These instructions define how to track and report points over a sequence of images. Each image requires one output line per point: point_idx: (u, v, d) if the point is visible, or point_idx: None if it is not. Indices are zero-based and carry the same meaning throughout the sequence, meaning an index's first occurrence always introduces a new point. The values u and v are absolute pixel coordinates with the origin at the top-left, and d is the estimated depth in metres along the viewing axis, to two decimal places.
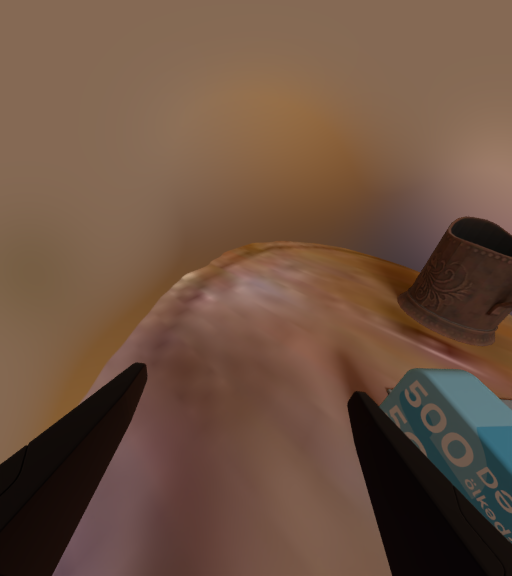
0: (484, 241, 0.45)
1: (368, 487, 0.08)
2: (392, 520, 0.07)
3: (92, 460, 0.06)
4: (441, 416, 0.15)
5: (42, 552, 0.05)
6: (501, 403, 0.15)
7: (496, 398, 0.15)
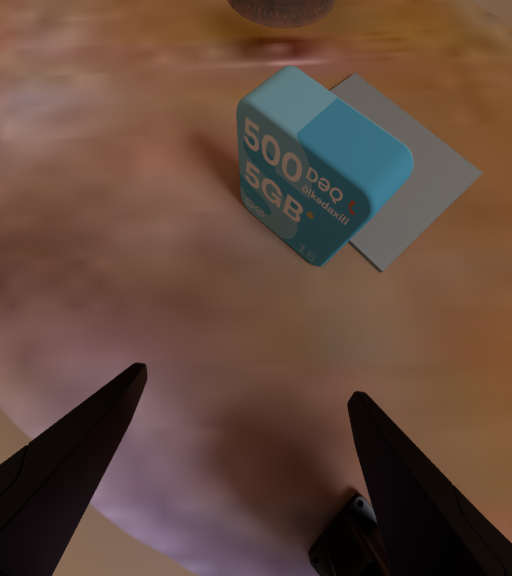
0: None
1: (368, 487, 0.08)
2: (392, 520, 0.07)
3: (92, 460, 0.06)
4: (274, 143, 0.14)
5: (42, 552, 0.05)
6: (318, 86, 0.14)
7: (313, 83, 0.14)
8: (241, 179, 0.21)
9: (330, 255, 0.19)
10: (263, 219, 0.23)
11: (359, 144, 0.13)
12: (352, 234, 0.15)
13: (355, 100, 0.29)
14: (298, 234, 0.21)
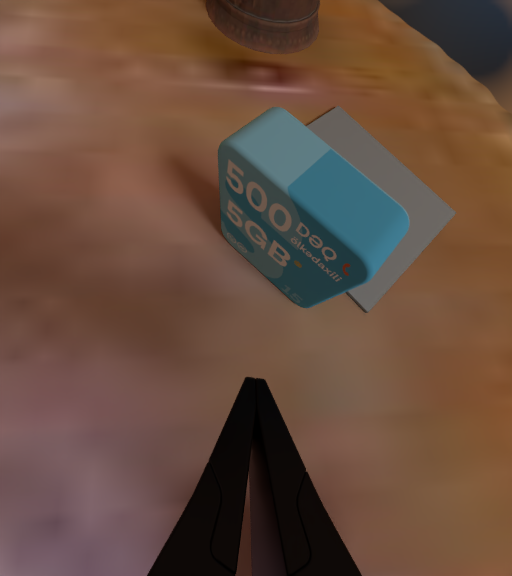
0: None
1: (249, 476, 0.07)
2: (255, 510, 0.06)
3: None
4: (261, 191, 0.13)
5: None
6: (309, 134, 0.12)
7: (305, 130, 0.12)
8: (222, 214, 0.19)
9: (317, 302, 0.18)
10: (246, 254, 0.22)
11: (355, 204, 0.11)
12: (344, 291, 0.14)
13: (339, 133, 0.29)
14: (283, 277, 0.19)
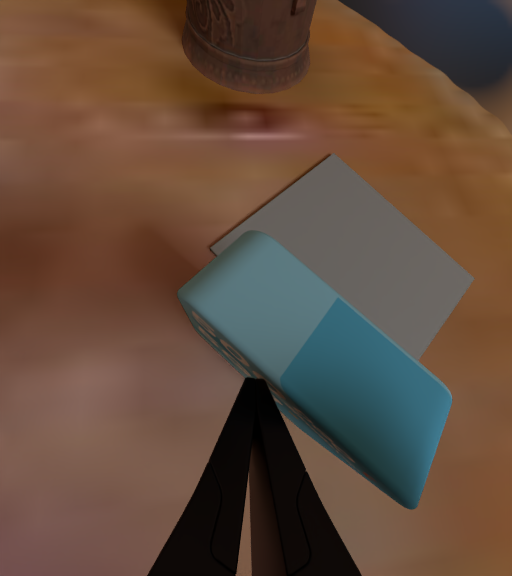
0: None
1: (249, 476, 0.07)
2: (255, 510, 0.06)
3: None
4: (240, 356, 0.09)
5: None
6: (308, 276, 0.09)
7: (301, 270, 0.09)
8: (194, 325, 0.14)
9: (319, 443, 0.14)
10: None
11: (380, 393, 0.08)
12: (360, 474, 0.10)
13: (335, 187, 0.25)
14: None
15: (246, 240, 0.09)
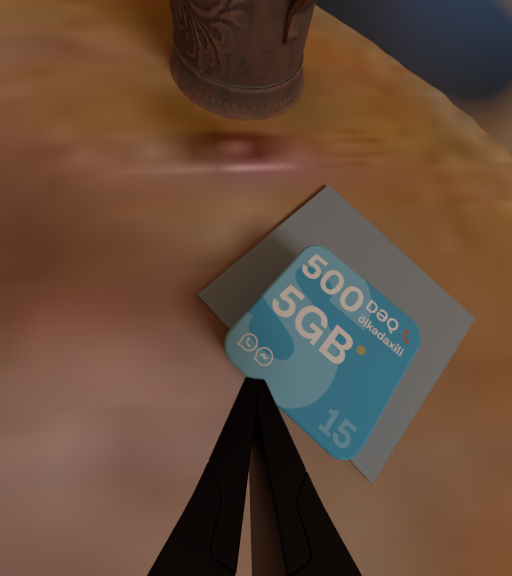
0: None
1: (249, 477, 0.07)
2: (255, 510, 0.06)
3: None
4: (340, 277, 0.17)
5: None
6: None
7: None
8: (261, 303, 0.16)
9: (379, 415, 0.15)
10: (263, 371, 0.14)
11: None
12: (406, 368, 0.16)
13: (330, 222, 0.24)
14: (332, 388, 0.15)
15: None
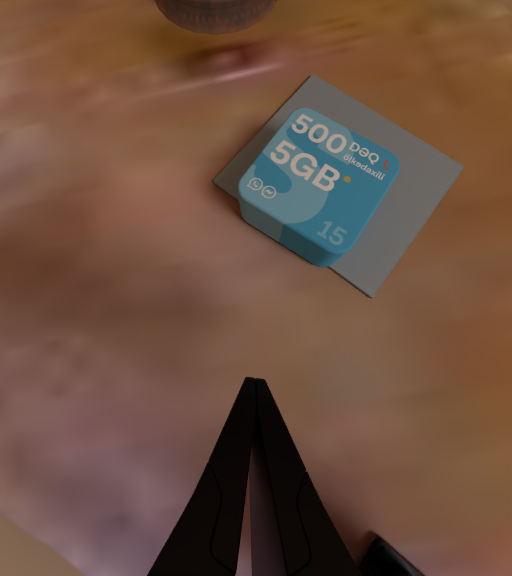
0: None
1: (249, 476, 0.07)
2: (255, 510, 0.06)
3: None
4: (324, 129, 0.20)
5: None
6: None
7: None
8: (261, 156, 0.20)
9: (365, 221, 0.19)
10: (270, 201, 0.19)
11: None
12: (387, 187, 0.19)
13: (317, 106, 0.26)
14: (325, 207, 0.19)
15: None
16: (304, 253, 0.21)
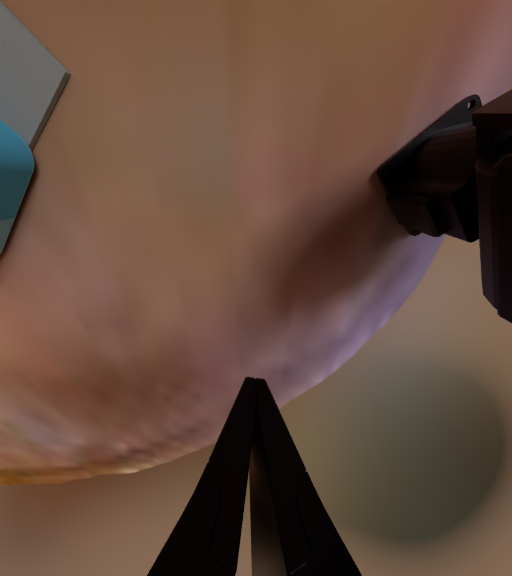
0: None
1: (249, 476, 0.07)
2: (255, 510, 0.06)
3: None
4: None
5: None
6: None
7: None
8: None
9: None
10: None
11: None
12: None
13: None
14: None
15: None
16: (11, 189, 0.15)
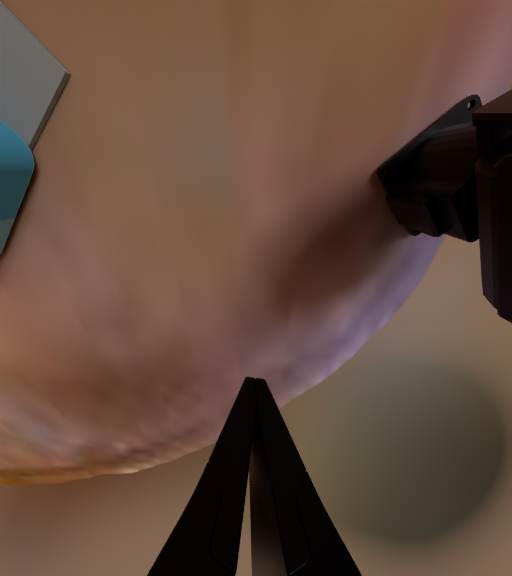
0: None
1: (249, 477, 0.07)
2: (255, 510, 0.06)
3: None
4: None
5: None
6: None
7: None
8: None
9: None
10: None
11: None
12: None
13: None
14: None
15: None
16: (11, 189, 0.15)
